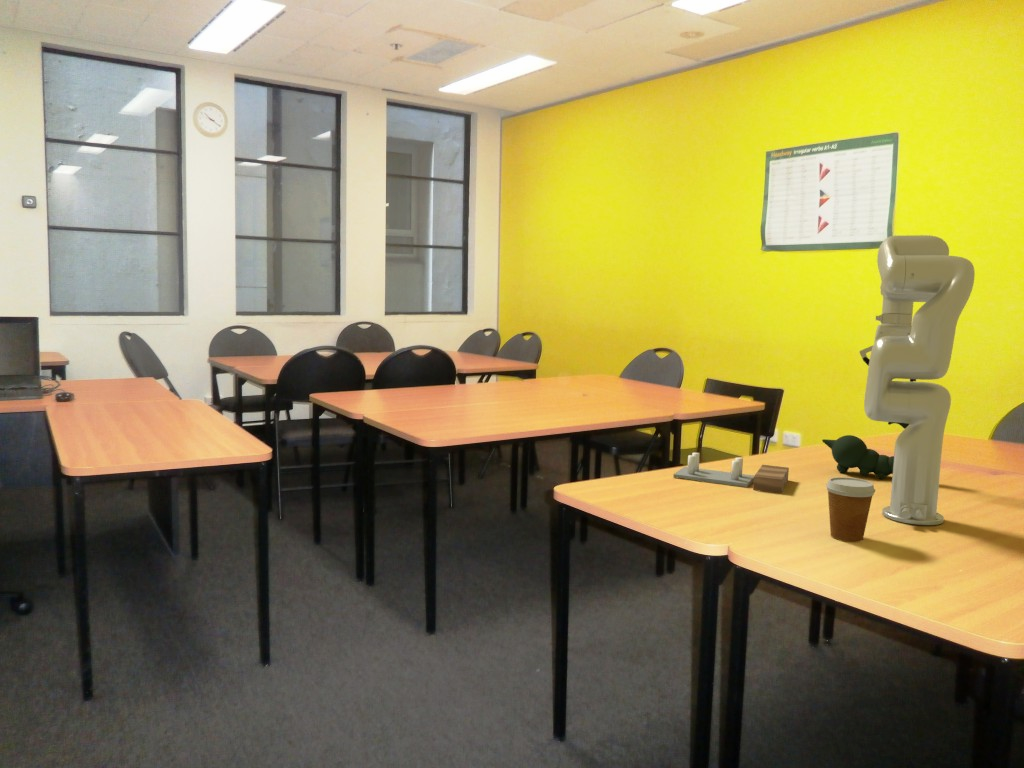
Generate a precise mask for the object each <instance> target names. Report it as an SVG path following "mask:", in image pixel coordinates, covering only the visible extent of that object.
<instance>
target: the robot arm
mask: <svg viewBox="0 0 1024 768" xmlns="http://www.w3.org/2000/svg"><path fill="white" fill-rule="evenodd" d="M949 254H950V248H949V245H948V244H947V241H945V240H944V239H943V238H941V237H939V236H934V235H930V234H929V235H927V234H924V235H923V234H919V235H917V234H916V235H913V234H912V235H910V234H909V235H908V234H907V235H890V236H887V237H886V238H885V239H884V240H882V242H881V244H880V245H879V248H878V250H877V258H876V259H877V260H876V262H877V263H876V264H877V268H878V272H879V276H880V280H881V282H880V294H881V296H882V309H881V310H882V311H881V314H879V315H875V321H879V322H880V324H878V325H877V327H876V332H875V337H874V341H873V343H874V344H873V345H871V346H868V347H866V348H864V349H861V350H859V355H860V357H861V359H862V361H863V362H864V363H865V364H866V365H867V366H868V370H867V378H866V384H865V385H866V386H865V392H864V399H863V400H864V401H863V403H864V405H863V408H864V409H863V410H864V413H865V416H866V417H867V418H868V419H870V420H872V421H876V422H882V423H884V422H885V423H888V422H897V423H907V424H909V425H908V426H907V427H906V428H905V429H904V428H903V430H902V431H901V433H899V435H897V438H896V439H895V443H894V453H893V454H894V455H893V456H894V464H893V474H892V477H891V478H892V479H891V488H890V489H891V490H890V503H889V506H885V507H883V508H882V515H883V516H884V517H886V518H887V519H889V520H893V521H895V522H900V523H903V524H908V525H916V526H917V525H918V526H937V525H940V524H943V523H944V520H945V519H944V516H943V514H941V513H939V512H938V511H937V509H938V500H939V499H938V498H939V485H940V477H941V476H940V475H941V466H942V465H941V463H942V453H943V444H944V443H943V442H944V434H945V428H946V423H947V420H948V417H949V413H950V410H951V403H952V398H951V393H950V391H949V390H948V389H947V388H946V387H945V386H943V385H941V384H938V383H934V382H928V380H933V381H934V380H939V379H942V378H944V377H945V376H946V374H947V373H948V371H949V367H950V363H951V359H952V353H953V348H954V343H955V336H956V332H957V331H956V328H957V325H958V321H959V319H960V317H961V314H962V312H963V311H964V308H965V307H966V306H967V303H968V301H969V299H970V297H971V294H972V292H973V288H974V283H975V277H976V275H975V267H974V265H973V262H971V260H969V259H967V258H965V257H962V256H958V255H957V256H956V255H949ZM914 303H924V304H923V305H921V307H919V309H917V311H916V312H915V313H914V315H913V312H914ZM869 352H870V355H869V357H868V356H867V353H869ZM895 379H896V380H895ZM897 379H898V380H897ZM899 379H901V380H899ZM902 379H903V380H904V381H902ZM905 380H907V381H905ZM908 380H909V381H908ZM917 380H920V381H917ZM921 380H927V381H926V382H925V381H921Z"/></svg>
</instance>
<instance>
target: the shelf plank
mask: <svg viewBox="0 0 1024 768" xmlns="http://www.w3.org/2000/svg"><path fill="white" fill-rule="evenodd" d="M789 470H790V469H789V467H787V466H777V465H769V464H761V466H760V468H759V469H758V470H757V472H756V473H755V476H754V481H753V487H752V491H758V490H760V491H759V492H767V493H775V494H782V493H783V491H784V489H785V487H786V485H787V484H788V482H789Z"/></svg>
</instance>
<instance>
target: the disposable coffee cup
mask: <svg viewBox="0 0 1024 768" xmlns="http://www.w3.org/2000/svg"><path fill="white" fill-rule="evenodd" d="M825 484H826V485H825V487H826V490H827V497H828V511H829V512H828V513H829V527H830V528H829V529H830V531H829V532H830V537H832V538H833V539H836V540H839V541H842V542H849V543H850V542H851V543H857V542H858V543H859V542H862V541H864V537H865V532H866V527H867V522H868V519H869V518H868V517H869V513H870V507H871V504H872V499H873V496H874V495H875V492H876V489H875V487H874V483H872V482H871V481H869V480H865V479H861V478H855V477H847V476H844V477H843V476H837V477H836V476H835V477H831V478H828V481H827V483H825Z"/></svg>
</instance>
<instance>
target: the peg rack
mask: <svg viewBox="0 0 1024 768" xmlns="http://www.w3.org/2000/svg"><path fill="white" fill-rule="evenodd" d="M743 462H744V458H743V457H735V460H731V469H730V470H731V471H724V470H714V469H706V468H700V452H692V453H691V454H689V455H688V456H687V466H683V467H681V469H679V470H677V471H676V472H674V473H673V477H678V478H677V479H680V478H684V479H683V480H687V479H691V480H690V481H695V480H699V481H698V482H702V481H704V483H709V484H710V483H711V484H719V485H726V486H732V485H733V486H734V487H740V486H741V487H742V488H749V486H750V485H751V484H752V483H754V476H755V475H754V474H753V475H752V474H746V473H745V474H744V473H743ZM741 487H740V488H741Z"/></svg>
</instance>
